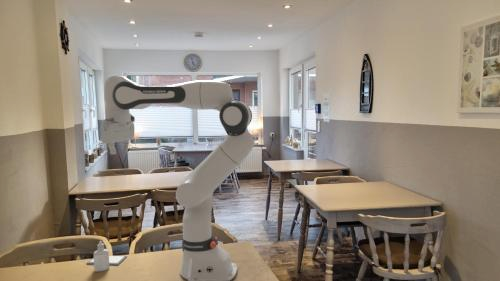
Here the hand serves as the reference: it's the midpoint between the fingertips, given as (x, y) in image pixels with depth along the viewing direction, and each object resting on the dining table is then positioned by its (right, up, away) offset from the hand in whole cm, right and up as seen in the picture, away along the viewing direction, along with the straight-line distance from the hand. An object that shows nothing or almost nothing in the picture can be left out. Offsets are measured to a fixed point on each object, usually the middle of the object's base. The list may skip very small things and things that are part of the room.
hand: (119, 152), depth 135 cm
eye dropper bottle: (-8, -48, +3) cm, 49 cm away
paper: (-10, -47, +12) cm, 49 cm away
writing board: (-10, -47, +12) cm, 49 cm away
